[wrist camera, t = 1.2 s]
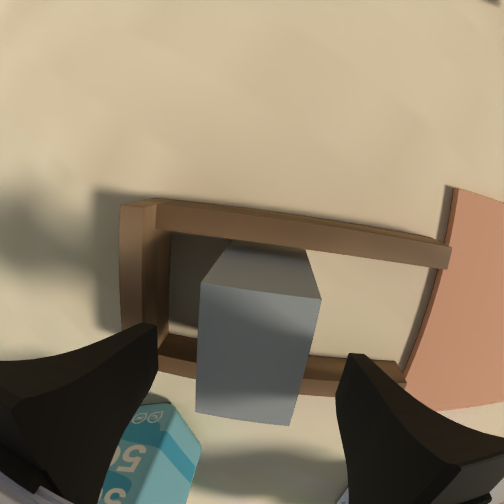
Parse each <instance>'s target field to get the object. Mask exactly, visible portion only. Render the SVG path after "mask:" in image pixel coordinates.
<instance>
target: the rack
mask: <svg viewBox="0 0 504 504" xmlns="http://www.w3.org/2000/svg"><path fill="white" fill-rule="evenodd" d="M172 231H176V232H183V233H191V234H198V235H206V236H214V237H221V238H228V239H236V240H243V241H251V242H258V243H265V244H273V245H280V246H287V247H294V248H301V249H308V250H315V251H322V252H329V253H336V254H343V255H350V256H357V257H364V258H371V259H378V260H385V261H391V262H398V263H405V264H411V265H418V266H425V267H431V268H438V269H444V270H447V269H448V265H449V261H450V257H451V252H452V247H450V246H448V245H446V244H444V243H442V242H440V241H437V240H435V239H433V238H430V237H425V236H419V235H414V234H409V233H403V232H398V231H392V230H387V229H381V228H375V227H369V226H364V225H358V224H352V223H345V222H339V221H333V220H326V219H320V218H313V217H306V216H300V215H293V214H286V213H278V212H271V211H264V210H256V209H248V208H240V207H232V206H224V205H215V204H206V203H197V202H188V201H179V200H169V199H159V198H152V199H147V200H143V201H138V202H133V203H129V204H124V205H120V226H119V282H120V306H121V322H122V331H123V330H125V329H128V328H130V327H132V326H134V325H137V324H139V323H142V322H144V323H148V324H153V325H157V339H158V365H159V369H158V371H161V372H165V373H170V374H174V375H178V376H183V377H188V378H192V379H196V367H197V342H198V339H193V338H188V337H183V336H178V335H173V334H168V314H169V271H170V249H171V232H172ZM346 361H347V359H343V358H330V357H319V356H308V360H307V364H306V368H305V372H304V375H303V379H302V383H301V386H300V390H299V394H301V395H313V396H327V397H335V393H336V390H337V387H338V385H339V382H340V379H341V376H342V373H343V370H344V367H345V364H346ZM372 361H373V362H374V363H375V364H376V365H377V366H378V367H380V368H381V369H382V370H383V371H384V372H385V373H386V374H387V375H388V376H389V377H390V378H391V379H393V380H394V381H395V382H396V383H397V384H398V385H399V386H401V387H402V388H403V389H405V387H406V385H407V382H406V380H405V378H404V376H403V374H402V372H401V370H400V369H399V367H398V365H397V363H396V361H375V360H372Z"/></svg>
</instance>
